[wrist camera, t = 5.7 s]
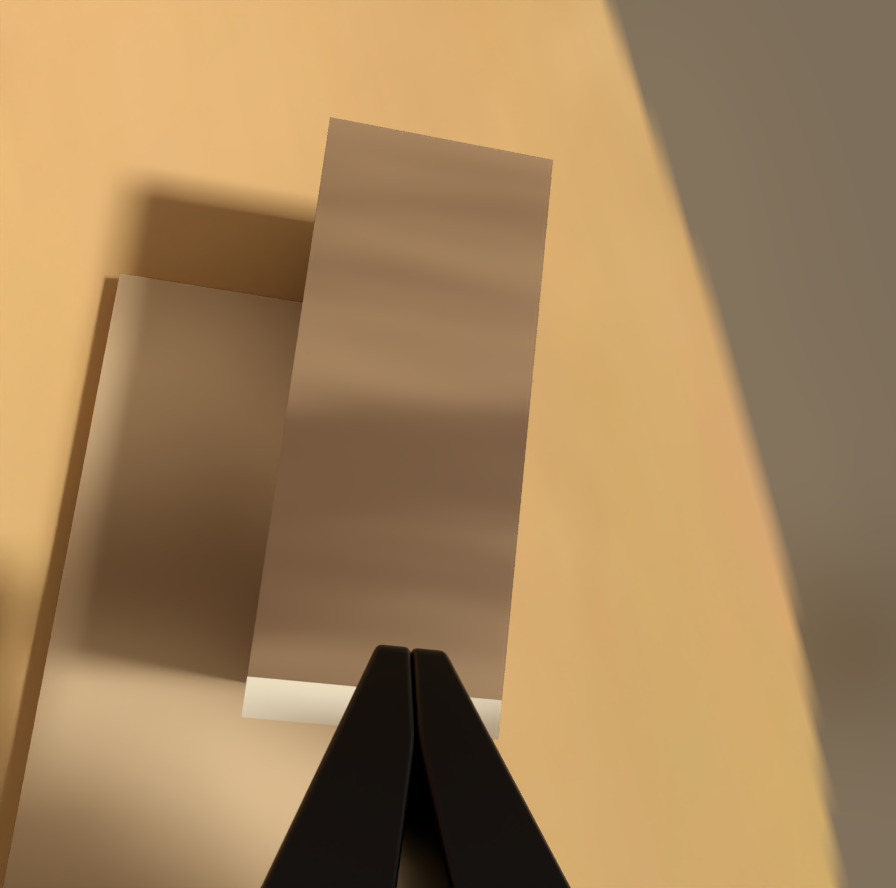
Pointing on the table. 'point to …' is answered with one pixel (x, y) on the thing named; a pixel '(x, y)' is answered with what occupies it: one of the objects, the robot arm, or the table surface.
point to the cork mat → (168, 612)
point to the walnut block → (403, 421)
